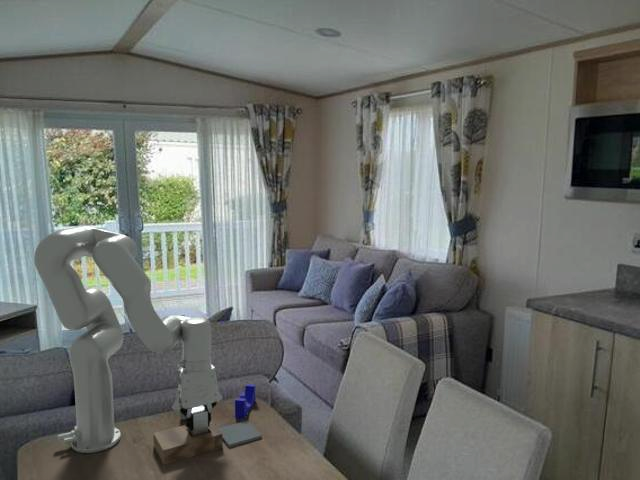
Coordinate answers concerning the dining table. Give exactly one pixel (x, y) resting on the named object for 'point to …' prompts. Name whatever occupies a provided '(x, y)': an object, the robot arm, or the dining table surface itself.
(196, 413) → the steel bar
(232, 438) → the rubber mat
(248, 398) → the cable clip
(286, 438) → the dining table surface
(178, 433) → the wooden block with hole
